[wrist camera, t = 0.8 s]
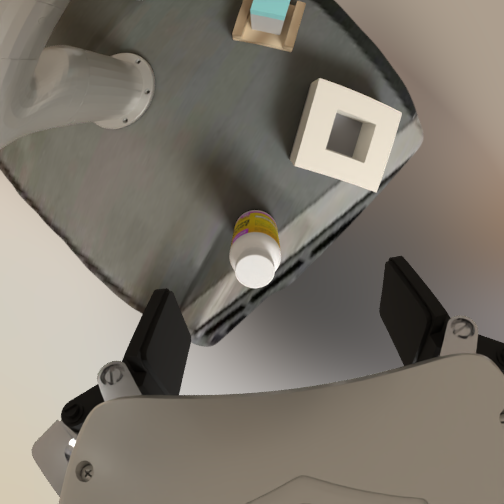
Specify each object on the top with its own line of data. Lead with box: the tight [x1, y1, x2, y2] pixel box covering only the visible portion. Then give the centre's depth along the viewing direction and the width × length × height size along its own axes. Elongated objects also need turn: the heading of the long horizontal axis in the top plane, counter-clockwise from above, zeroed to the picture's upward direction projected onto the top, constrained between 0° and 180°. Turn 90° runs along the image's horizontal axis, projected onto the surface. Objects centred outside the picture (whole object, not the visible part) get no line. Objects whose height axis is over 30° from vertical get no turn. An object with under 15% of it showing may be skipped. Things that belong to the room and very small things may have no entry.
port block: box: [289, 78, 402, 193], centre depth 33 cm, size 12×12×6 cm
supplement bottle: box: [229, 210, 281, 288], centre depth 38 cm, size 7×7×13 cm
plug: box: [250, 0, 290, 35], centre depth 24 cm, size 4×4×8 cm
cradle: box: [232, 0, 306, 52], centre depth 27 cm, size 8×8×3 cm
